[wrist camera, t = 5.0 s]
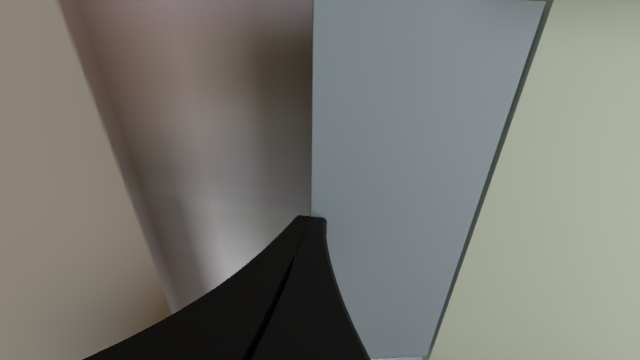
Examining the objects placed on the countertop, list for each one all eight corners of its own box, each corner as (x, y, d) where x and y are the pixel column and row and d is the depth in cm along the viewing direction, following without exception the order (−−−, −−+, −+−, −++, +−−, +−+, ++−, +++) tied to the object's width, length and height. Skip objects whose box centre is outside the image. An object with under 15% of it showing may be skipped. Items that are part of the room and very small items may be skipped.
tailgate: (426, 355, 13) (309, 362, 13) (414, 325, 15) (308, 329, 15) (545, 1, 7) (313, -9, 6) (501, 10, 8) (311, 3, 8)
